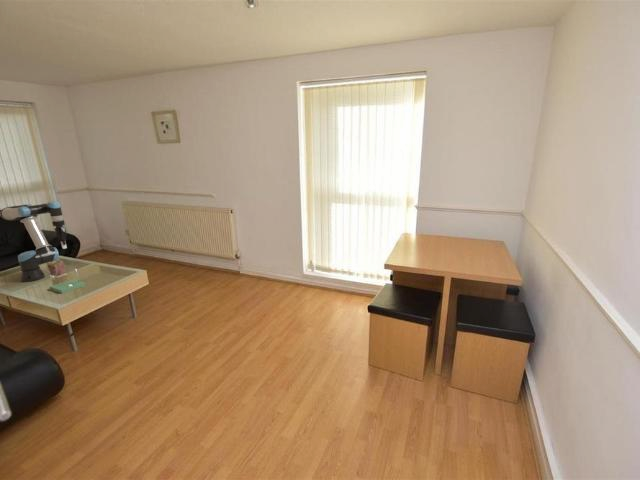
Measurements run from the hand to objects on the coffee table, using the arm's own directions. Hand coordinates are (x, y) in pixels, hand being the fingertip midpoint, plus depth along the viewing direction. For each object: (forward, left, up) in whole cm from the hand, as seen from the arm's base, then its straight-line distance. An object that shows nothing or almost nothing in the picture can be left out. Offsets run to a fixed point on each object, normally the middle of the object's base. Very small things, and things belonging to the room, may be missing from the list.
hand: (64, 248), depth 260 cm
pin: (+26, -6, -24) cm, 36 cm away
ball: (+25, -13, -25) cm, 38 cm away
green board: (+21, -13, -26) cm, 36 cm away
